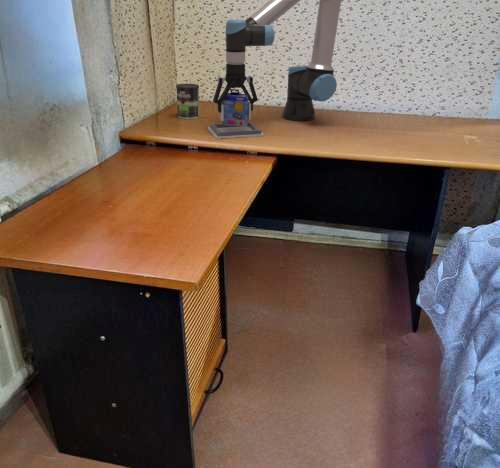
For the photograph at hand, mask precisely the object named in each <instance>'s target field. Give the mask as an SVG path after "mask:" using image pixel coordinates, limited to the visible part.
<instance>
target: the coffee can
mask: <svg viewBox="0 0 500 468" xmlns="http://www.w3.org/2000/svg"><path fill="white" fill-rule="evenodd" d="M175 88H176V105H177V118H179V119H183V120H195V119H199V118H200V85H199V84H196V83H179V84H176V85H175Z"/></svg>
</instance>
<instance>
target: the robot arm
mask: <svg viewBox="0 0 500 468" xmlns="http://www.w3.org/2000/svg"><path fill="white" fill-rule="evenodd" d="M343 1H344V0H319V3H318V11H317V17H316V19H317V20H316V26H315V32H314V39H313V46H312V51H311V52H312V54H311V60H310V63H309V64H308V65H298V66H297V65H296V66H295V65H293V66H290V67H289V68H288V72H287V91H286V92H287V97H286V102H285V106H284V108H283V109H282V118H283V119H286V120H288V121H289V120H290V121H297V122H302V121H303V122H305V121H306V122H307V121H312V120H314V119H315V117H316V112H315V108H314V103H313V101H314V102H321V103H322V102H326V101H328V100H330V99H331V98H332V97H333V96H334V94H335V92H336V90H337V86H338V84H337V80H336V78H335V76H334V72H335V68H334V67H333V65H332V61H333V54H334V48H335V43H336V35H337V31H338V24H339V16H340V11H341V6H342V5H341V4H342V2H343ZM300 2H301V0H269V1H267V2H266V3H265V4H264V5H262V6H261V7H260V8H259V9H257V11H255V12H254V13H252V15H251V16H249V17H248V18H246V19H245V20H244V19H227V21H226V22H225V23H226V24H225V32H224V33H225V62H226V64H225V76H224V77H220V76H219V77H218V78H217V86H216V90H215V92H214V94H213V95H214V96H213V99H212V102H214V103H215V104H217V112H218V113H219V118H220V122H223V121H224V108H223V104H222V102H223V100H224V99H225V97H226V95H227V94H228V93H230V89H236V88H237V89H239V88H240V89H241V90H242V92H243V94H246V95H248V121H250V120H252V119H251V118H252V112H253V111H254V103H256V102H258V99H259V98H258V95H257V92H256V89H255V85H254V77H253V76H251V75H250V76H246V64H245V63H246V48H247V47H268V46H271V45H273V43H274V41H275V33H276V32H275V30H274V27H273V26H272V24H273V23H274V22H276V21H277V20H278V19H279V18H281V17H282V16H283V15H285V14H286V12H288V11H290V10H291V9H293V7H294V6H296V5H297V4H298V3H300ZM225 82H226V83H227V84H226V85H225V88H224V89H223V91H222V87H223V84H224V83H225ZM245 82H247V83H248V86H249V89H250V93H251V94H250V93H249V91H248V89H247V88H246V85H245V84H244V83H245ZM221 92H222V93H221Z"/></svg>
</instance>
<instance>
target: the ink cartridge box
mask: <svg viewBox="0 0 500 468" xmlns="http://www.w3.org/2000/svg"><path fill="white" fill-rule="evenodd" d="M248 102H249V100H248V95H246V94H245V93H240V89H239V88H237V89H236V88H231V89H230V90H229V92H228V94H227V95H226V97H225V99H224V100H223V102H222V104H223V108H224V121H222V123H223V125H231V126H242V127H245V126H246V125H247V124H248V122H249V119H248Z"/></svg>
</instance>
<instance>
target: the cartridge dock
mask: <svg viewBox="0 0 500 468" xmlns="http://www.w3.org/2000/svg"><path fill="white" fill-rule="evenodd" d="M207 130H208V131H209V132H210V133H212V134H213V135H212V134H211V135H212V136H213V137H214V138H216V140H222V139H221V138H227V139H236V138H235V137H243V138H254V137H255V138H257V137H265V134H264V133H263V132H262V129H260V128H259V126H257V125H256V124H255V123H253V122H252V121H248V124H247V125H246V126H245V127H242V126H231V125H223V122H221V123H220V122H218V123H210V124H209V126H207Z"/></svg>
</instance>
